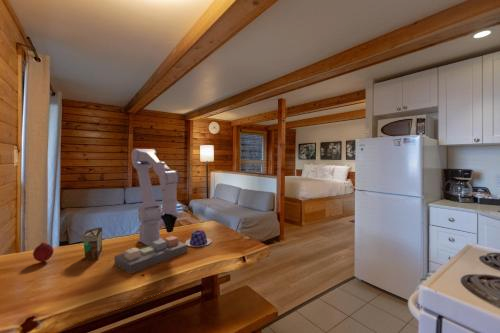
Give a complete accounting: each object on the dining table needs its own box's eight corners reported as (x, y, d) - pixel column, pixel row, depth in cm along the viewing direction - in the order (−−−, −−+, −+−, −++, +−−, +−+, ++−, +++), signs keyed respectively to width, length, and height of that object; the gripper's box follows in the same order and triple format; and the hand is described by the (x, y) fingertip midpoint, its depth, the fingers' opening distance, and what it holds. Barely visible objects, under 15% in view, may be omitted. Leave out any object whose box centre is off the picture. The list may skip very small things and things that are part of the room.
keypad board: (114, 263, 90) (114, 255, 90) (170, 244, 109) (170, 238, 109) (130, 273, 83) (130, 265, 82) (187, 251, 102) (187, 244, 101)
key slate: (152, 249, 97) (152, 242, 97) (161, 246, 101) (161, 239, 100) (157, 252, 95) (157, 244, 95) (166, 249, 98) (166, 241, 98)
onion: (57, 260, 93) (56, 239, 92) (40, 266, 87) (39, 245, 87) (47, 258, 94) (46, 237, 94) (29, 264, 89) (28, 243, 89)
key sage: (139, 258, 93) (139, 249, 93) (148, 254, 96) (148, 246, 96) (144, 260, 91) (144, 252, 91) (154, 257, 94) (154, 249, 94)
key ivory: (124, 259, 89) (124, 250, 89) (135, 255, 92) (135, 247, 92) (129, 262, 86) (129, 253, 86) (140, 258, 90) (140, 249, 89)
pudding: (191, 237, 119) (191, 227, 119) (214, 239, 117) (214, 228, 117) (180, 247, 107) (180, 235, 107) (206, 249, 105) (206, 237, 105)
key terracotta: (164, 245, 102) (164, 238, 102) (172, 243, 105) (172, 235, 105) (170, 248, 99) (169, 240, 99) (178, 245, 103) (178, 237, 102)
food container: (85, 251, 101) (84, 228, 100) (102, 249, 103) (102, 226, 103) (77, 264, 89) (77, 237, 89) (97, 261, 92) (96, 235, 91)
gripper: (151, 198, 102) (151, 230, 103) (171, 203, 93) (171, 238, 94) (166, 196, 108) (166, 226, 108) (186, 200, 99) (186, 233, 99)
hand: (169, 231), depth 101 cm, fingers closed
